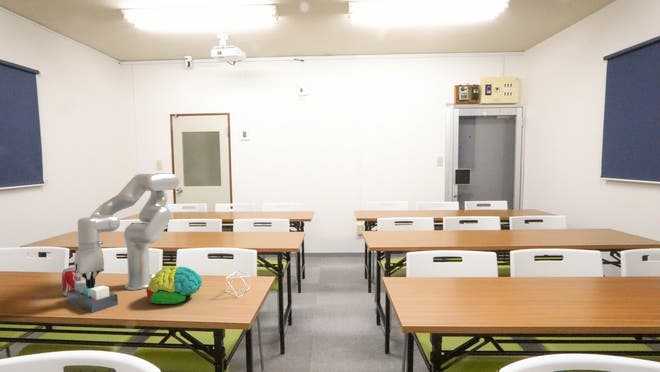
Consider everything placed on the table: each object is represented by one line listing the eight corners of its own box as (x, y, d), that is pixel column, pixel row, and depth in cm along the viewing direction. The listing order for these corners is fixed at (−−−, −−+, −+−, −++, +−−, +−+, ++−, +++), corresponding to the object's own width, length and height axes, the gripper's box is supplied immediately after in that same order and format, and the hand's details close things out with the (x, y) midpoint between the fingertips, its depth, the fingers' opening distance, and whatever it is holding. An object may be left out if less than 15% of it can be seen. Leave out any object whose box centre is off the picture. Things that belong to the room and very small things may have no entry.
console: (92, 294, 162) (92, 284, 162) (117, 304, 150) (117, 294, 149) (67, 301, 153) (66, 291, 153) (92, 313, 141) (91, 302, 141)
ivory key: (103, 296, 151) (103, 285, 151) (109, 298, 148) (109, 287, 148) (91, 300, 147) (90, 288, 146) (96, 302, 144) (96, 291, 144)
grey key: (87, 289, 159) (87, 279, 158) (92, 291, 156) (92, 280, 156) (75, 293, 155) (74, 282, 154) (80, 295, 152) (79, 284, 152)
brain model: (209, 291, 164) (207, 260, 164) (191, 307, 145) (188, 272, 145) (162, 292, 166) (159, 262, 165) (137, 309, 147) (134, 274, 146)
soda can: (71, 297, 158) (69, 271, 157) (58, 296, 159) (57, 270, 159) (84, 292, 165) (83, 267, 164) (72, 290, 166) (71, 266, 166)
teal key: (95, 295, 155) (95, 284, 155) (101, 297, 152) (100, 286, 152) (82, 298, 151) (82, 287, 150) (88, 301, 148) (87, 289, 148)
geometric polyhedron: (220, 296, 159) (219, 277, 158) (232, 288, 169) (231, 270, 169) (244, 299, 156) (244, 279, 155) (255, 290, 166) (255, 272, 166)
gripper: (103, 241, 158) (104, 281, 159) (65, 248, 146) (66, 290, 146) (111, 243, 154) (113, 284, 155) (73, 250, 142) (74, 294, 142)
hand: (90, 287), depth 151 cm, fingers closed
